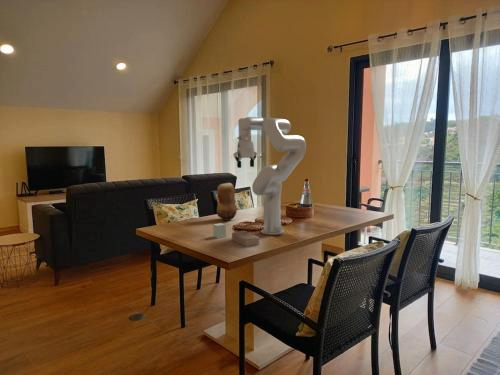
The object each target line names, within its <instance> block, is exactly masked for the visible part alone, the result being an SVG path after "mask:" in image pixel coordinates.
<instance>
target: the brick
mask: <svg viewBox="0 0 500 375" xmlns="http://www.w3.org/2000/svg"><path fill="white" fill-rule="evenodd" d="M231 237H232V238H231V240H232V241H233V242H235V243H237V244H239V245H241V246H243V247H245V248H250V247H256V246H259V245H260V237H259V236H257V235H255V234H252V233H250V232H249V231H247V230H239V231H234V232H232V233H231Z"/></svg>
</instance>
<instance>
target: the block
mask: <svg viewBox="0 0 500 375" xmlns="http://www.w3.org/2000/svg"><path fill="white" fill-rule="evenodd" d="M226 227H227V225H226V224H225V223H222V222H220V223H215V224H212V230H213V232H212V234H213V235H212V236H213V238H216V239H223V238H226V237H227V231H226V230H227V228H226Z"/></svg>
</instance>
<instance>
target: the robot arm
mask: <svg viewBox="0 0 500 375" xmlns="http://www.w3.org/2000/svg"><path fill="white" fill-rule="evenodd" d="M237 123H238V124H237V125H238V136H237V140H238V142H237V148H236V150H237V151H236V152H234V153H233V154H232V156H233V158H234V160H235V161H236V167H237V169H240V168H242V159H243V158H244V159H246V158H249V159H250V160H249V166H250V168H254V167H255V160H256V158H257V155H258V153H257V152H256V151H255V148H254V142H253V141H252V131H263V132H264V133H265V134H266V136H267V138H268V139H269V141H270V142H271V145H272V146H273V148H274V149H275V150H276V151H278V152H280V153H282V152H283V153H286V152H287V153H286V154H285V155H283V156H282V157H281V159H280V160H279V161H278V162H277V163H275V164H269V165H265V166H264V167H262V168H261V169H260V171H259V172H258V174H257V176H256V177H255V178H254V180H253V182H252V185H251V188H252V192H253V194H254V195H256V196H260V197H261V196H264V199H263V229H261V234H263V235H270V236H274V235H275V236H277V235H282V234H283V233H284V231H285V228H284V227H283V226H282V224H281V222H282V220H281V218H282V216H281V215H282V214H281V198H282V196H281V195H282V189H283V183H282V182H284V181H286V180H287V179H288V177H289V176H290V175H291V173H292V172H293V171H294V169H295V168H296V167H297V165H298V164H299V163H300V162H301V161H302V160H303V158H304V157H305V154H306V152H307V142H306V139H305V138H304V137H303V136H301V135H298V134H288V133H289V132H290V131H291V128H292V124H291V122H290V121H289V120H288V119H284V118H279V117H278V118H277V117H276V118H275V117H264V116H263V117H261V116H246V117H241V118H239V119H238V121H237Z"/></svg>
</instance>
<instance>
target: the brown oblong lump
mask: <svg viewBox="0 0 500 375" xmlns="http://www.w3.org/2000/svg"><path fill="white" fill-rule="evenodd" d="M217 199H218V204H217V206H216V215H217V216H218V218H220V219H222V220H223V221H230V220H233V219H234V218H235V216H236V215H237V210H238V208H237V204H236V200H235V199H236V192H235V186H234V184H233V183H231V182H225V183H221V184H219V185H218V186H217Z"/></svg>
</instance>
